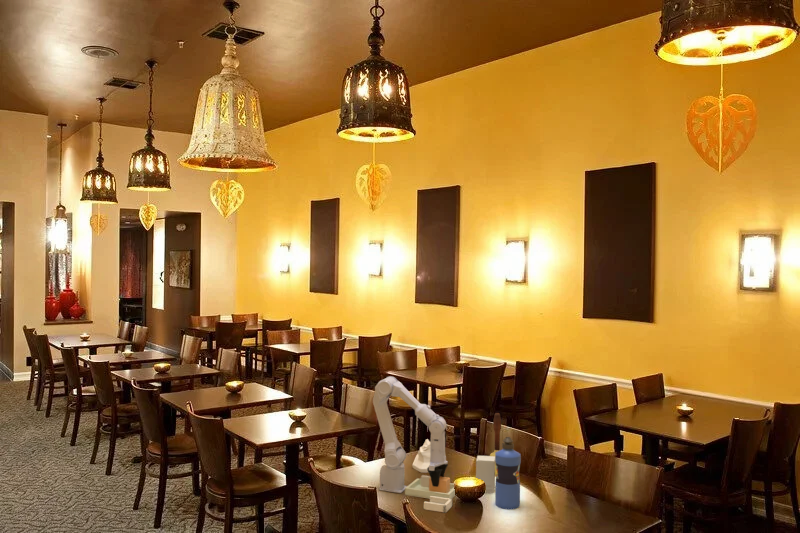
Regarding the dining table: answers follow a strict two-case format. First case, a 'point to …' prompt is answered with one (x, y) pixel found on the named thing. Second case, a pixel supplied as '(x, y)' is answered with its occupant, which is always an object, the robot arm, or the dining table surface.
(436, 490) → the orange and grey block
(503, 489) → the water bottle
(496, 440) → the handbell
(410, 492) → the tray
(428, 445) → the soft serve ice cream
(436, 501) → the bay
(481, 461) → the supplement box
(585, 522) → the dining table surface
